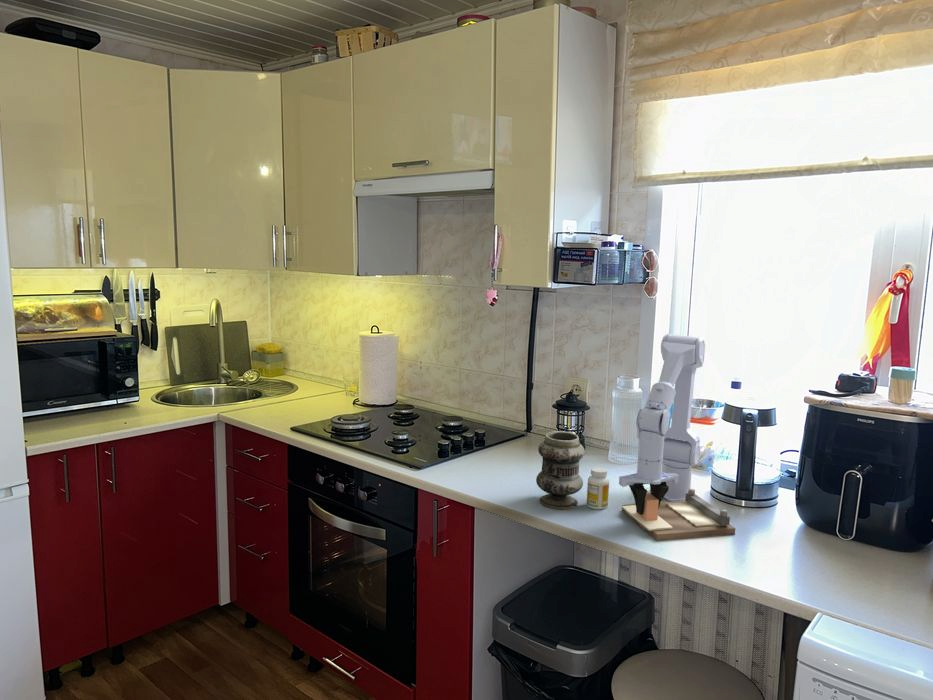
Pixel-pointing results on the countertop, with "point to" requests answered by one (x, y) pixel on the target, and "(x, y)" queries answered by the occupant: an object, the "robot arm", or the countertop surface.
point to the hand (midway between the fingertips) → (646, 512)
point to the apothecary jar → (560, 469)
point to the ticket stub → (649, 514)
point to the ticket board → (690, 519)
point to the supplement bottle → (598, 489)
